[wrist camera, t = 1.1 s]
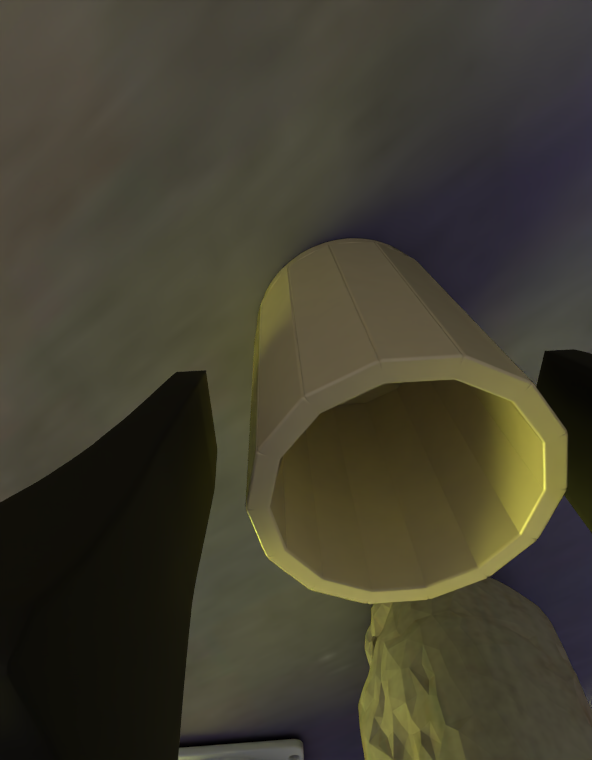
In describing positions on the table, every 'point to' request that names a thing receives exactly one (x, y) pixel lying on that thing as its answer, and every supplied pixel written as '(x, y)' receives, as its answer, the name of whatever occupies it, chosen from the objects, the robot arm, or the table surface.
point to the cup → (391, 432)
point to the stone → (470, 681)
